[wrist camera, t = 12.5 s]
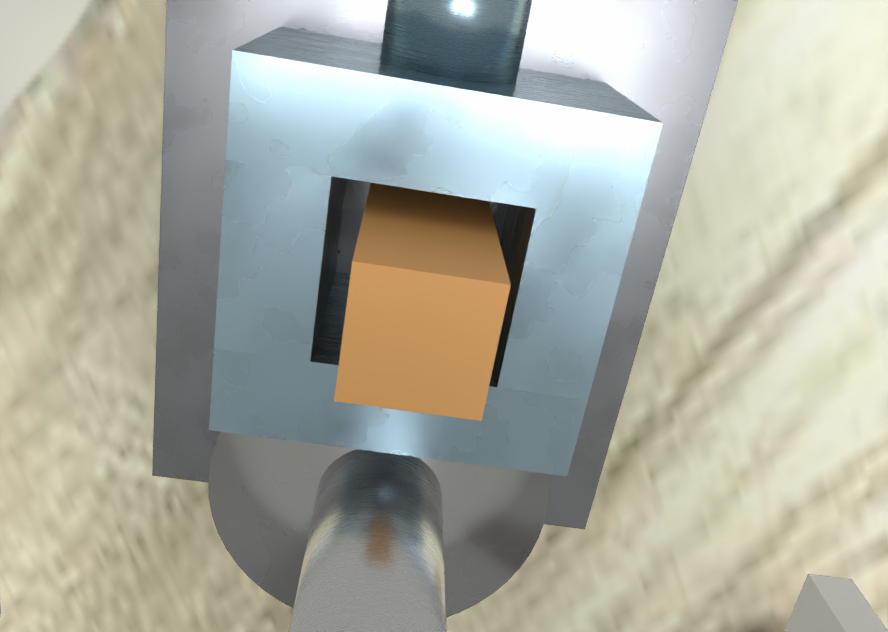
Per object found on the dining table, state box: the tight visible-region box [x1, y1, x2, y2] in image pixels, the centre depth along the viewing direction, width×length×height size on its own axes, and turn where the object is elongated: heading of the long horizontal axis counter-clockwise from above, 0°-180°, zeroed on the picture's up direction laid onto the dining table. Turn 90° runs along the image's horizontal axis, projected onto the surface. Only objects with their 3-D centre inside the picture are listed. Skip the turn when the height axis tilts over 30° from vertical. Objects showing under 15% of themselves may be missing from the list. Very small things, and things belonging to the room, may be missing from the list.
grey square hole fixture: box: [152, 0, 738, 632], centre depth 27 cm, size 26×20×16 cm
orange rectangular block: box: [334, 183, 511, 421], centre depth 27 cm, size 4×4×12 cm
